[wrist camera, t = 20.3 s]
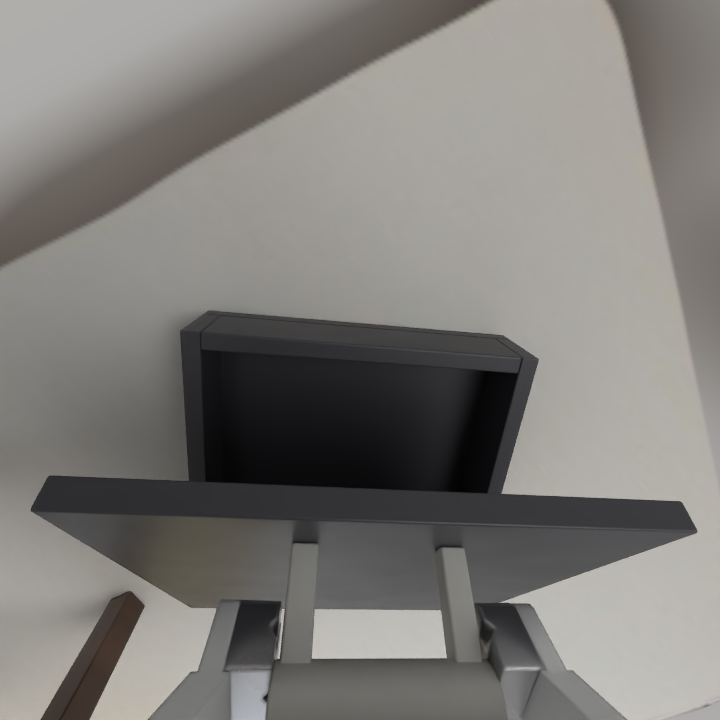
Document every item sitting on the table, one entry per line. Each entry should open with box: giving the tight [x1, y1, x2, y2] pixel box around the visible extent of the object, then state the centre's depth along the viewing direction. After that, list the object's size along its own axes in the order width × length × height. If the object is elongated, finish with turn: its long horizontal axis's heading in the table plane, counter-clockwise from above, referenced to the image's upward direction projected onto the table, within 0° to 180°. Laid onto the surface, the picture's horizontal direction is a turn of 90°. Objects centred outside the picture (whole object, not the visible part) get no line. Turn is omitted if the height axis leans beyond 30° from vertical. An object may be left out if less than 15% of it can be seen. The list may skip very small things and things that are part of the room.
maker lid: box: [31, 476, 697, 720], centre depth 14 cm, size 15×16×5 cm
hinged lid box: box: [180, 311, 539, 494], centre depth 20 cm, size 15×16×4 cm
